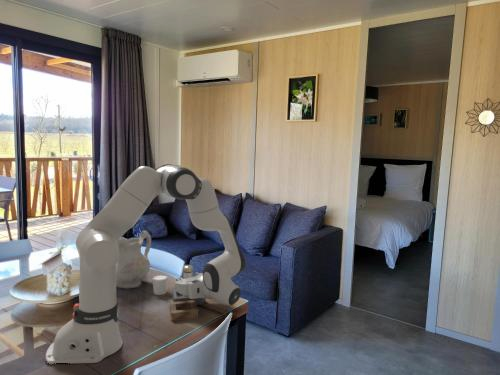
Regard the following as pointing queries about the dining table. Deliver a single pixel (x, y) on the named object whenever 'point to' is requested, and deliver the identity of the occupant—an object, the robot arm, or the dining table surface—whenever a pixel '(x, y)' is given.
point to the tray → (185, 298)
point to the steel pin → (187, 272)
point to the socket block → (183, 310)
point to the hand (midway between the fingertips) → (186, 277)
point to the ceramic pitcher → (132, 261)
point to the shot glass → (160, 284)
